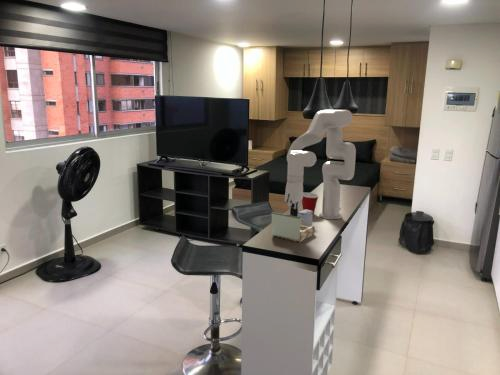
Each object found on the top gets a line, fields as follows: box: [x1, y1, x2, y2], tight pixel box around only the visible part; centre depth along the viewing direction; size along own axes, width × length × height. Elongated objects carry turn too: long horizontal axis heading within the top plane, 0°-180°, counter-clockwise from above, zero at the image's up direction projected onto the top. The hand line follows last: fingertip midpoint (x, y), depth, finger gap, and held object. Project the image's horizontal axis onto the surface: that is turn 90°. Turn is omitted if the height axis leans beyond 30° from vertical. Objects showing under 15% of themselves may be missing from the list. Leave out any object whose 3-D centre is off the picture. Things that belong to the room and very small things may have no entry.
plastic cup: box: [301, 192, 320, 216], centre depth 235 cm, size 11×11×12 cm
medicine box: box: [297, 209, 314, 227], centre depth 211 cm, size 8×4×9 cm, turn 141°
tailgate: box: [270, 211, 300, 240], centre depth 191 cm, size 1×15×11 cm, turn 54°
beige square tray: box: [272, 225, 316, 243], centre depth 198 cm, size 14×15×4 cm
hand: (293, 216), depth 196 cm, fingers closed
